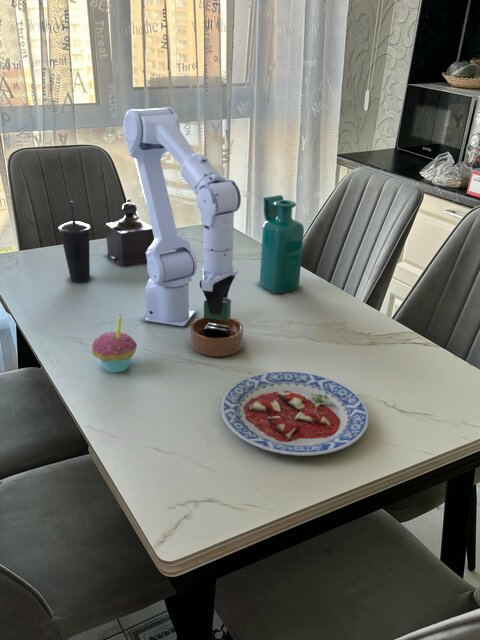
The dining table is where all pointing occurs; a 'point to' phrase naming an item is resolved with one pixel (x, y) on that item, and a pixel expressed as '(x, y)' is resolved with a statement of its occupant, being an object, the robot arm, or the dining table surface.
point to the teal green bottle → (280, 246)
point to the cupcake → (114, 349)
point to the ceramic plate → (294, 413)
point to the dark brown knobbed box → (129, 237)
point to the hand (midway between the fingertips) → (217, 310)
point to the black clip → (216, 331)
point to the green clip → (224, 311)
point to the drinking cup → (76, 248)
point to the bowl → (216, 345)
